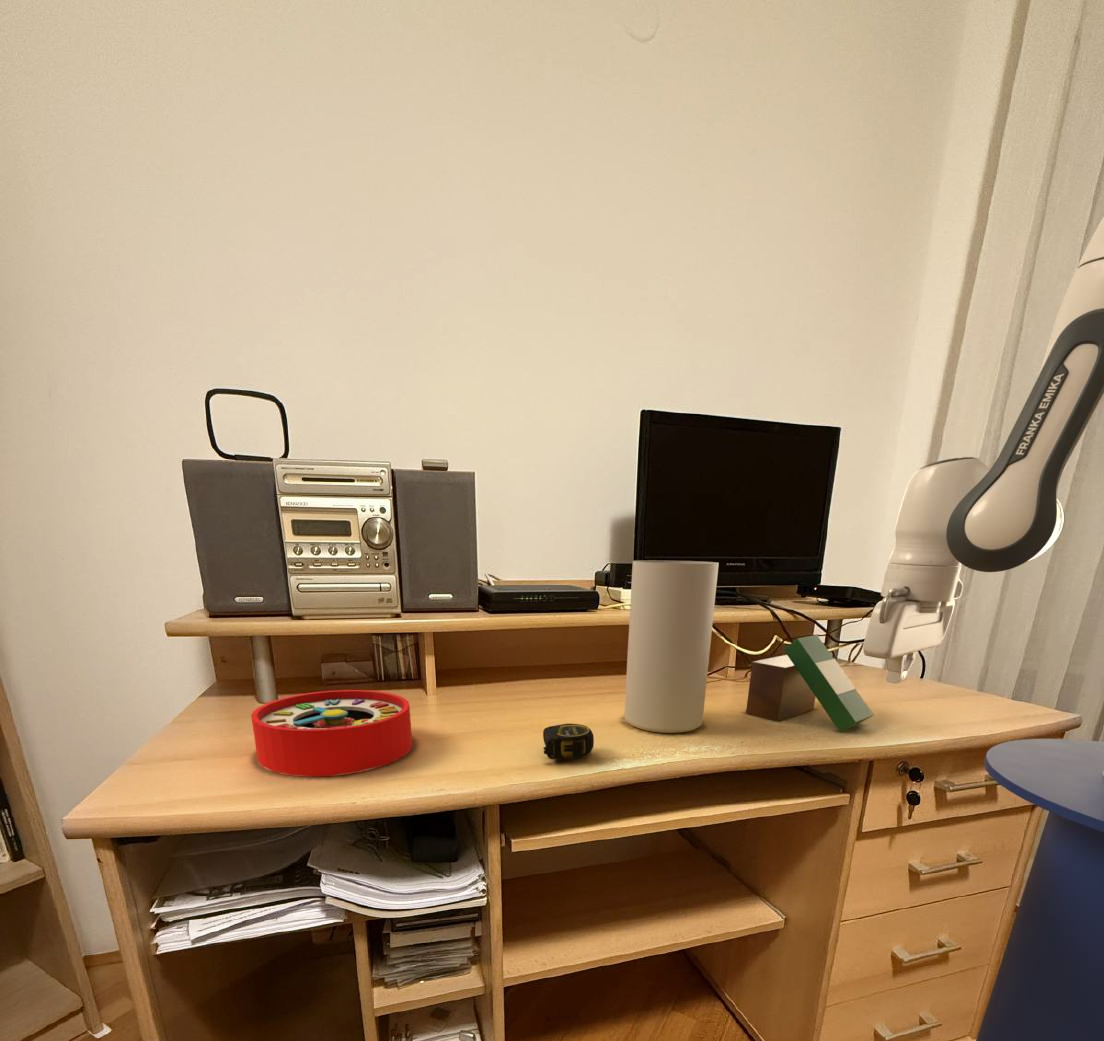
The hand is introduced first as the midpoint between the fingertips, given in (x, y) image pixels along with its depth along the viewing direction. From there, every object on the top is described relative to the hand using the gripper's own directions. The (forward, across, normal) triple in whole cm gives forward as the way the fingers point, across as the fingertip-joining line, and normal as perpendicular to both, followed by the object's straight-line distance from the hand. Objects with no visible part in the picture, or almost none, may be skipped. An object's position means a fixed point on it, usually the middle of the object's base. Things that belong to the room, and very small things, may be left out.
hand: (895, 681), depth 86 cm
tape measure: (+9, -45, +23) cm, 51 cm away
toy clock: (+10, -68, +44) cm, 82 cm away
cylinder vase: (+9, -22, +25) cm, 35 cm away
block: (+9, 0, +17) cm, 19 cm away
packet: (+2, 0, +10) cm, 10 cm away
